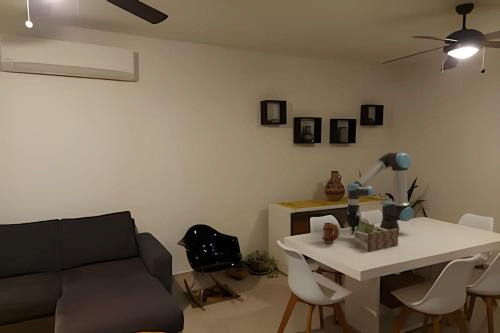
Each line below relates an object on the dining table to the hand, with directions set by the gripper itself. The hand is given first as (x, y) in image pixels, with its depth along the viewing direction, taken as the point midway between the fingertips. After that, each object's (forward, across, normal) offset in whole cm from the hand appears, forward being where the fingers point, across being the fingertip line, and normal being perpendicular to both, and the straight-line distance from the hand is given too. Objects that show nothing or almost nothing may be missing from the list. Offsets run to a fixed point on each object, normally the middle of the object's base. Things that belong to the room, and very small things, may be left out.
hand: (352, 235), depth 262 cm
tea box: (+2, +8, +1) cm, 9 cm away
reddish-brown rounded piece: (+3, +3, -24) cm, 24 cm away
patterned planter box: (+2, +22, +1) cm, 22 cm away
